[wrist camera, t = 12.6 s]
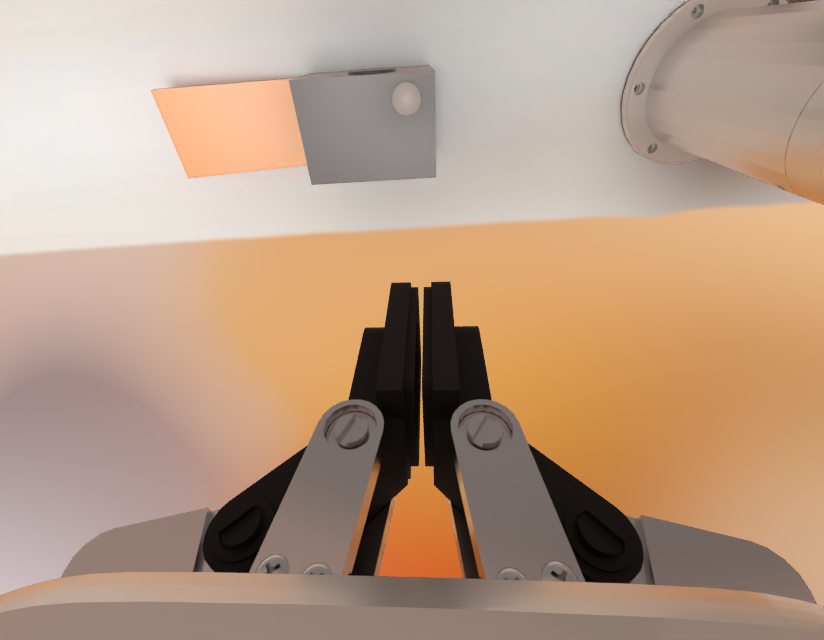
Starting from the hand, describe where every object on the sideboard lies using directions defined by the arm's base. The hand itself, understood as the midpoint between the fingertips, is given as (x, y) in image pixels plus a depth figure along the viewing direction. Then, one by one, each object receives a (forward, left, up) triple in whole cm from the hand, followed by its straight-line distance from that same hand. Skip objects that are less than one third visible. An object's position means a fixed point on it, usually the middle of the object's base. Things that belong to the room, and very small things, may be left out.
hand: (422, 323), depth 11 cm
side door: (+9, -2, -27) cm, 29 cm away
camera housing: (+3, -2, -28) cm, 28 cm away
